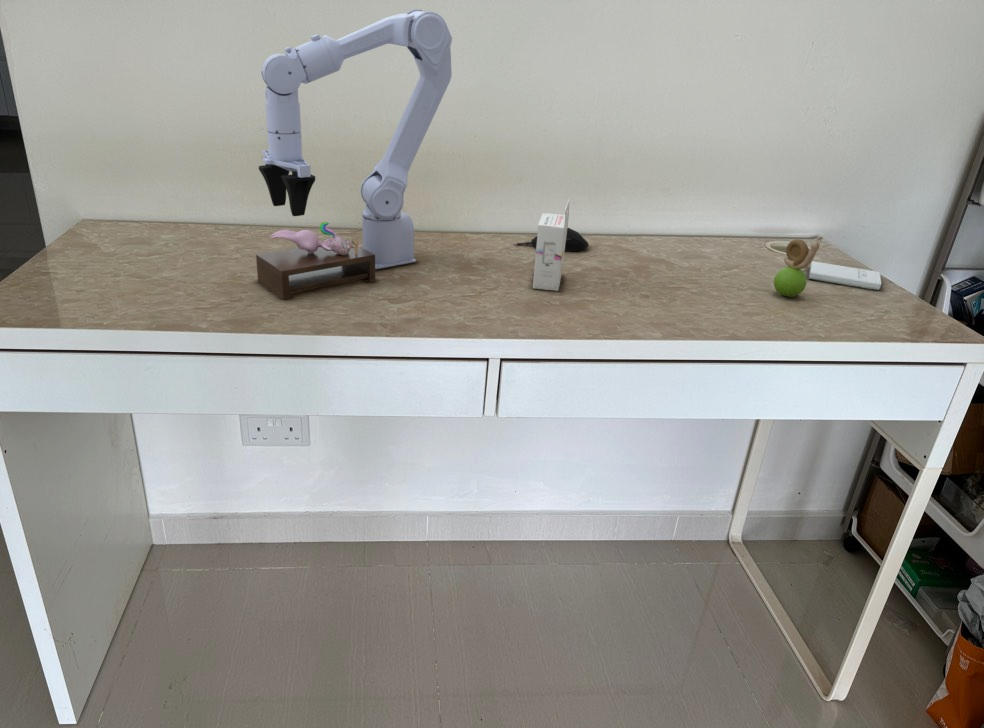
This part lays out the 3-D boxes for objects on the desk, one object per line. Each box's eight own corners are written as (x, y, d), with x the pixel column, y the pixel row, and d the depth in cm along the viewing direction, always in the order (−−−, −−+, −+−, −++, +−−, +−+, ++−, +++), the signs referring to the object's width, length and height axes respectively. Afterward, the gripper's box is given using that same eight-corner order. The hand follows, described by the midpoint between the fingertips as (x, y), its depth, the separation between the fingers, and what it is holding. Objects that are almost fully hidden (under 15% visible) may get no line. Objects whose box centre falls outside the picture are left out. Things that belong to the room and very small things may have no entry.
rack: (347, 265, 145) (346, 239, 142) (375, 281, 138) (375, 254, 136) (258, 282, 135) (255, 254, 133) (283, 299, 128) (281, 271, 126)
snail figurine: (792, 304, 137) (810, 238, 131) (764, 292, 142) (780, 228, 136) (813, 300, 139) (832, 235, 133) (784, 289, 144) (801, 225, 138)
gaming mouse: (516, 240, 164) (517, 221, 162) (585, 243, 164) (588, 225, 162) (518, 249, 158) (519, 230, 157) (589, 252, 159) (592, 233, 157)
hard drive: (809, 268, 156) (877, 278, 152) (808, 279, 149) (879, 291, 145) (811, 260, 155) (879, 270, 151) (810, 271, 149) (881, 283, 144)
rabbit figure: (356, 255, 139) (272, 240, 136) (361, 223, 136) (275, 207, 134) (355, 266, 133) (267, 251, 131) (360, 233, 131) (271, 217, 128)
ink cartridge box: (535, 273, 145) (543, 195, 138) (561, 276, 145) (571, 198, 138) (530, 288, 138) (539, 207, 131) (558, 292, 137) (568, 209, 130)
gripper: (244, 126, 135) (250, 203, 141) (281, 140, 125) (286, 222, 131) (281, 123, 139) (285, 199, 145) (320, 137, 129) (323, 217, 135)
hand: (288, 210), depth 139 cm, fingers open, 7 cm apart
